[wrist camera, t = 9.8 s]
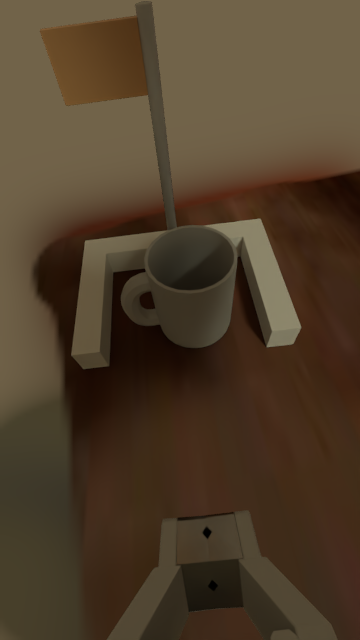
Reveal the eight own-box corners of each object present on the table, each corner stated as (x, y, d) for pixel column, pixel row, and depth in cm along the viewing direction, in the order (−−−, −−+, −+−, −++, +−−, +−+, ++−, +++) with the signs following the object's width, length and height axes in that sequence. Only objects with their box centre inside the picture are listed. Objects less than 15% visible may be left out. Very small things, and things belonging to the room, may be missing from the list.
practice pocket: (292, 344, 28) (439, 57, 10) (83, 369, 28) (-125, 134, 11) (256, 239, 36) (304, -24, 18) (93, 259, 36) (-16, 20, 18)
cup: (240, 340, 28) (251, 280, 21) (139, 365, 28) (113, 312, 20) (218, 284, 32) (221, 217, 25) (128, 305, 32) (104, 243, 24)
